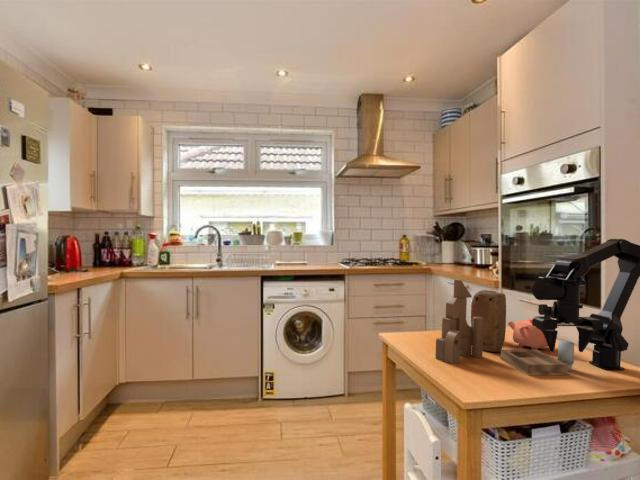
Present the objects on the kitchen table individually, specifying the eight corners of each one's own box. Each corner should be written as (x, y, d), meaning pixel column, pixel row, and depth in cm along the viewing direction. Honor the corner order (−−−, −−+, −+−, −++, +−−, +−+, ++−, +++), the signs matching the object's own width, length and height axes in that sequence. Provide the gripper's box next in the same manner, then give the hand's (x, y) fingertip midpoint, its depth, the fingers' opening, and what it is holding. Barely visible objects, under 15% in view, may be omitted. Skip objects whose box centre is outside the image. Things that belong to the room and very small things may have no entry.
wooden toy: (452, 364, 116) (455, 282, 116) (435, 358, 122) (437, 279, 121) (484, 357, 124) (487, 280, 124) (466, 351, 130) (469, 277, 130)
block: (507, 351, 132) (509, 292, 132) (495, 354, 128) (497, 294, 127) (477, 343, 141) (480, 288, 140) (465, 346, 136) (468, 289, 136)
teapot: (511, 349, 134) (512, 320, 134) (506, 340, 146) (507, 313, 145) (558, 354, 130) (559, 324, 130) (549, 345, 141) (550, 317, 141)
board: (536, 359, 124) (536, 349, 124) (567, 375, 110) (568, 364, 110) (500, 358, 123) (501, 349, 123) (527, 375, 109) (528, 364, 109)
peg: (566, 366, 118) (567, 340, 118) (576, 371, 114) (578, 344, 113) (553, 366, 117) (554, 340, 117) (563, 371, 113) (564, 344, 113)
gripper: (577, 295, 124) (575, 344, 124) (522, 294, 122) (520, 343, 123) (605, 302, 113) (603, 355, 113) (545, 301, 111) (543, 355, 111)
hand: (566, 351), depth 115 cm, fingers open, 9 cm apart
